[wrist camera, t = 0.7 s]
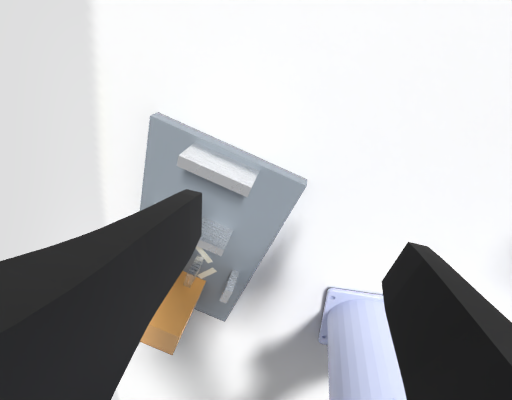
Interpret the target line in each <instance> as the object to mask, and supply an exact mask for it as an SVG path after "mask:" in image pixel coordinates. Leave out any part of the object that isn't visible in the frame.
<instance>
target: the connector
mask: <svg viewBox="0 0 512 400" xmlns="http://www.w3.org/2000/svg"><path fill="white" fill-rule="evenodd" d="M186 275H187V272H184V271H182V273H181V274H180V276H179V277H178V279H177V280H176V282H175V283H174V285H173V287H172V288H171V290H170V291H169V293H168V294H167V296H166V297H165V299H164V300H163V302H162V304H161V305H160V307H159V308H158V310H157V311H156V313H155V315H154V316H153V318H152V320H151V321H150V323H149V325H148V327H147V329H146V331H145V333H144V335H143V336H142V338H141V340H140V342H142V343H144V344H147V345H149V346H152V347H154V348H156V349H159V350H161V351H163V352H166V353H168V354H171V355H173V353H174V351H175V348H176V346H177V344H178V342H179V340H180V338H181V336H182V334H183V331H184V329H185V327H186V325H187V323H188V321H189V319H190V316H191V314H192V312H193V310H194V308H195V306H196V304H197V301H198V299H199V297H200V294H201V292H202V290H203V287H204V285H205V283H206V281H205V280H203V279H200V278H198V277H196V278H195V280H194V282H193V283H192V285H191V287H190V288H188V287H186V286H184V285H183V284H184V281H185V278H186Z"/></svg>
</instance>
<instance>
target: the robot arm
mask: <svg viewBox="0 0 512 400" xmlns="http://www.w3.org/2000/svg"><path fill="white" fill-rule="evenodd" d="M201 235H202V193H201V192H197V191H193V190H189V189H185V190H183V191H181V192H178V193H176V194H174V195H172V196H170V197H168V198H166V199H164V200H162V201H160V202H158V203H156V204H154V205H152V206H149V207H147V208H145V209H143V210H141V211H139V212H137V213H135V214H133V215H130V216H128V217H126V218H123V219H121V220H119V221H116V222H114V223H112V224H109V225H107V226H105V227H103V228H100V229H98V230H95V231H93V232H90V233H87V234H85V235H82V236H79V237H76V238H74V239H71V240H68V241H65V242H62V243H59V244H56V245H54V246H50V247H47V248H44V249H41V250H37V251H34V252H30V253H27V254H24V255H20V256H17V257H14V258H10V259H6V260H3V261H0V400H111V398H112V396H113V394H114V392H115V390H116V388H117V386H118V384H119V382H120V380H121V378H122V376H123V374H124V372H125V370H126V368H127V366H128V364H129V362H130V360H131V358H132V356H133V354H134V352H135V350H136V348H137V346H138V344H139V342H140V340H141V338H142V336H143V335H144V333H145V331H146V329H147V327H148V325H149V323H150V321H151V320H152V318H153V316H154V315H155V313H156V311H157V310H158V308H159V307H160V305H161V304H162V302H163V300H164V299H165V297H166V296H167V294H168V293H169V291H170V290H171V288H172V287H173V285H174V283H175V282H176V280H177V279H178V277H179V276H180V274H181V273H182V271H183V269H184V268H185V266H186V265H187V263H188V261H189V260H190V258H191V256H192V254H193V252H194V250H195V248H196V246H197V244H198V242H199V240H200V237H201ZM382 289H383V295H377V294H370V293H363V292H357V291H350V290H343V289H337V288H330V289H328V291H327V296H326V301H325V306H324V312H323V317H322V322H321V327H320V333H319V338H318V340H319V342H320V343H321V344H326V345H328V373H329V400H512V323H511V322H510V321H509V320H508V319H507V318H506V317H505V316H504V315H503V314H501V313H500V312H499V311H498V310H497V309H496V308H495V307H494V306H493V305H492V304H490V303H489V302H488V301H487V300H486V299H485V298H484V297H483V296H482V295H481V294H480V293H479V292H477V291H476V290H475V289H474V288H473V287H472V286H471V285H470V284H469V283H468V282H467V281H466V280H465V279H464V278H462V277H461V276H460V275H459V274H458V273H457V272H456V271H455V270H454V269H453V268H452V267H451V266H450V265H448V264H447V263H446V262H445V261H444V260H443V259H442V258H441V257H440V256H438V255H437V254H436V253H435V252H434V251H432V250H431V249H430V248H429V247H427V246H423V245H419V244H414V243H410V242H408V243H407V245H406V246H405V248H404V249H403V251H402V252H401V254H400V255H399V257H398V258H397V260H396V261H395V263H394V264H393V266H392V267H391V269H390V270H389V272H388V273H387V275H386V276H385V278H384V279H383V281H382Z"/></svg>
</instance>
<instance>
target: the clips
mask: <svg viewBox="0 0 512 400" xmlns="http://www.w3.org/2000/svg"><path fill="white" fill-rule="evenodd" d="M154 204H156V203H154ZM154 204H153V205H154ZM203 260H204V257H202V256H201V255H199V254H198V255H197V257H196V258H195V260H194V262H193V264H192V265H191V267H190V269H189V271H188V272H187V275H186V278H185V281H184V284H183V285H184V286H186V287H188V288H190V287H191V285H192V283H193V282H194V280H195V278H196V276H197V274H198V272H199V270H200V268H201V265H202V263H203ZM238 275H239V272H238V271H236V270H234V269H233V270H232V272H231V274H230V276H229V278H228V280H227V282H226V285H225V287H224V290H223V292H222V295H221V298H220V300H219V301H221V302H223V303H227V301H228V299H229V298H230V296H231V294H232V292H233V289H234V286H235V283H236V280H237V278H238Z"/></svg>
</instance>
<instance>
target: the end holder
mask: <svg viewBox="0 0 512 400" xmlns="http://www.w3.org/2000/svg"><path fill="white" fill-rule="evenodd" d="M177 166H178V167H180V168H182V169H185V170H187V171H189V172H191V173H194V174H196V175H198V176H200V177H203V178H205V179H207V180H209V181H212V182H214V183H216V184H218V185H221V186H223V187H225V188H227V189H230V190H232V191H234V192H236V193H239V194H241V195H243V196H245V197H248V195H249V193H250V190H251V188H252V186H253V184H254V182H255V180H256V177H257V175H258V173H259V171H258V170H256V169H254V168H252V167H249V166H247V165H245V164H243V163H241V162H238V161H236V160H234V159H232V158H229V157H227V156H225V155H223V154H221V153H218V152H216V151H214V150H212V149H209V148H207V147H205V146H203V145H201V144H198V143H196V142H195V143H193V144H192V145H191V146H190V147H188V148H187V149H186V150H185V151H183V152H182V153H181V154H180V155H179V156H178V161H177ZM232 232H233V230H232V229H230V228H227V227H225V226H223V225H220V224H218V223H216V222H214V221H211V220H209V219H207V218H205V217H202V235H201V237H200V240H199V242H198V244H197V246H198V247H200V248H203V249H205V250H207V251H210V252H212V253H214V254H216V255H219V256H222V254H223V252H224V250H225V247H226V245H227V243H228V241H229V239H230V236H231V234H232Z"/></svg>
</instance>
